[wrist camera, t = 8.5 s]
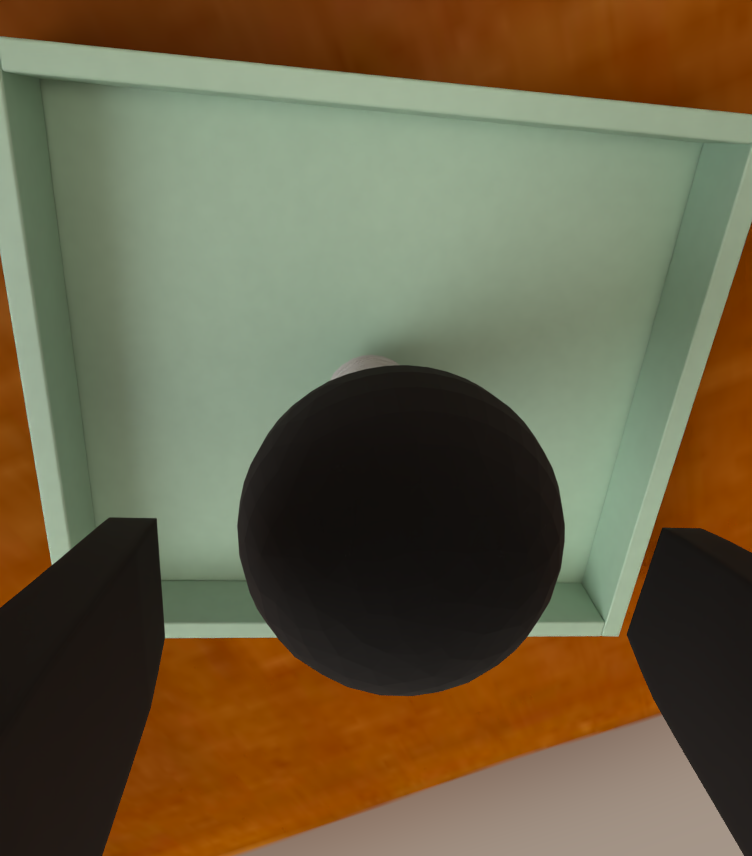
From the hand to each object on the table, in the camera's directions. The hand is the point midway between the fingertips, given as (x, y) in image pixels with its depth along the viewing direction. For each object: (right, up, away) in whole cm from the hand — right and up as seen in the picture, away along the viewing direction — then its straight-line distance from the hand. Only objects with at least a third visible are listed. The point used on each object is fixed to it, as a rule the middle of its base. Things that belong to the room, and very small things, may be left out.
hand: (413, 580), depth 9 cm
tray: (-1, +4, +9) cm, 10 cm away
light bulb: (-1, +4, +9) cm, 10 cm away
